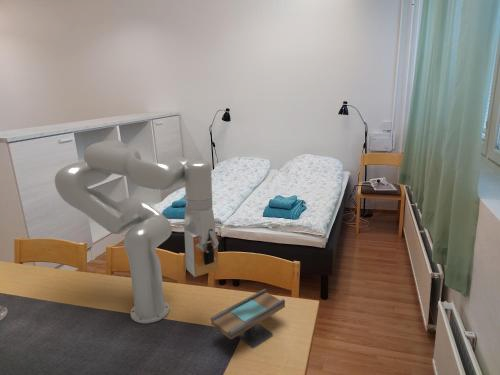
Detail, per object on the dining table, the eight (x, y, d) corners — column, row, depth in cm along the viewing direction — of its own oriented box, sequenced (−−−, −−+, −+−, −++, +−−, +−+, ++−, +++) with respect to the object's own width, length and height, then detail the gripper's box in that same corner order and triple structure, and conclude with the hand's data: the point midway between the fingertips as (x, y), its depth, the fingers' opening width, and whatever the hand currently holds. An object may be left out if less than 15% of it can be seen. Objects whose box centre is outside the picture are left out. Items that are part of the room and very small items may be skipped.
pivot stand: (227, 328, 114) (226, 313, 112) (246, 317, 119) (246, 303, 117) (253, 348, 105) (253, 332, 104) (272, 335, 110) (272, 320, 109)
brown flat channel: (211, 324, 106) (211, 317, 106) (264, 295, 121) (264, 288, 120) (230, 339, 100) (230, 332, 99) (284, 307, 114) (284, 300, 114)
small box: (194, 278, 106) (192, 237, 102) (185, 269, 111) (183, 229, 108) (219, 270, 110) (218, 230, 107) (209, 262, 115) (208, 223, 112)
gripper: (172, 198, 108) (175, 253, 113) (206, 213, 96) (208, 273, 101) (193, 193, 113) (195, 246, 118) (228, 207, 101) (229, 265, 106)
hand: (201, 258), depth 110 cm, fingers closed on small box, 6 cm apart
